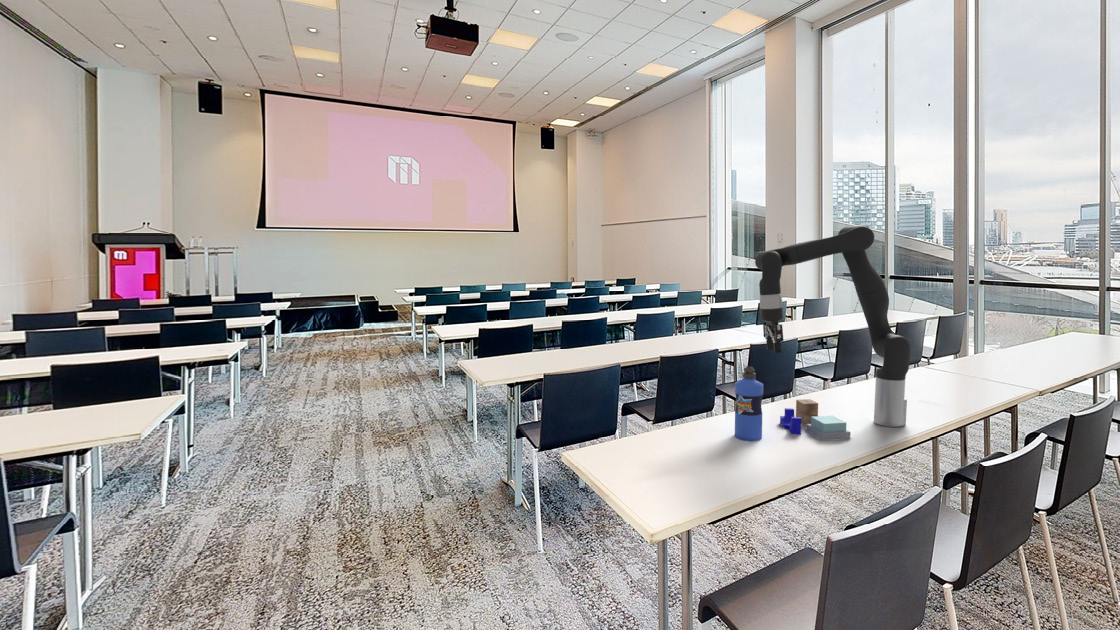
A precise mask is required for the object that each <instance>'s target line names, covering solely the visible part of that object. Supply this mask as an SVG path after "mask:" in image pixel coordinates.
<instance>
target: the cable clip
mask: <svg viewBox="0 0 1120 630" xmlns="http://www.w3.org/2000/svg"><path fill="white" fill-rule="evenodd" d="M779 425H780V426H781V427H782V428H783V429H785V430H788V431H789V432H790V434H791V435H802V424H801V417H796V416H795V409H794V408H787V407H785V408H784V415H780V416H779Z"/></svg>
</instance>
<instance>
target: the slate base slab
mask: <svg viewBox="0 0 1120 630" xmlns="http://www.w3.org/2000/svg"><path fill="white" fill-rule="evenodd" d="M805 430H806V432H808V433H810V434H811V435H813V436H814V437H816V438H818V439H819V440H822V441H831V440H832V441H834V440H835V441H836V440H837V441H838V440H850V439H851V433H852V432H851V431H850V430H848V429H846V431H838V432H823V431H821V430H819V429H817V428H816V427H814V426H812V425H811V424H807V425H806V429H805Z"/></svg>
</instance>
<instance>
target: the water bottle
mask: <svg viewBox="0 0 1120 630" xmlns="http://www.w3.org/2000/svg"><path fill="white" fill-rule="evenodd" d="M755 371H756V370H755V369H754V367H753V366H749V365H748V366H745V367H744V369H743V372H742V379H740V380H737V381H735V382H734V393H735V402H736V404H735V409H734V438H735V439H738V440H741V441H743V442H744V441H746V442H758V441H760V440H762V439H763V409H762V403H763V402H762V401H763V395H764V383H762V382H760V381H758V380H756V378H757V377H756V376H757V373H756V372H755Z"/></svg>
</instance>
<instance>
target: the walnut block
mask: <svg viewBox="0 0 1120 630" xmlns="http://www.w3.org/2000/svg"><path fill="white" fill-rule="evenodd" d="M815 416H819V402H816V401H815V400H813V399H810V398H808V399H804V398H803V399H796V400H795V417H801V425H803V426H804V425H805V426H807V424H811V417H815Z"/></svg>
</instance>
